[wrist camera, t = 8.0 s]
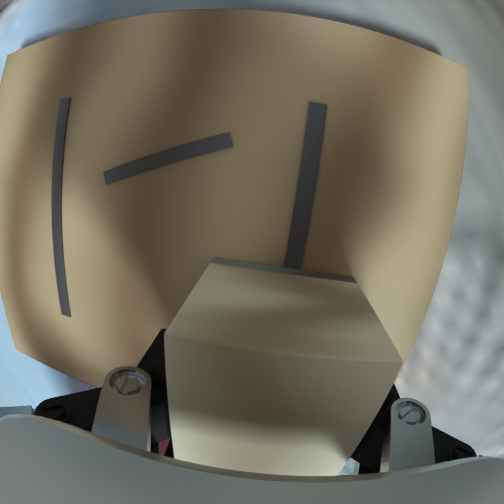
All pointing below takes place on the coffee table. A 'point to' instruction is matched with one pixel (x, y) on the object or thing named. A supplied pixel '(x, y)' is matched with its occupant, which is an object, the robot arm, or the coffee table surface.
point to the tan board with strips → (218, 172)
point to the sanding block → (275, 370)
